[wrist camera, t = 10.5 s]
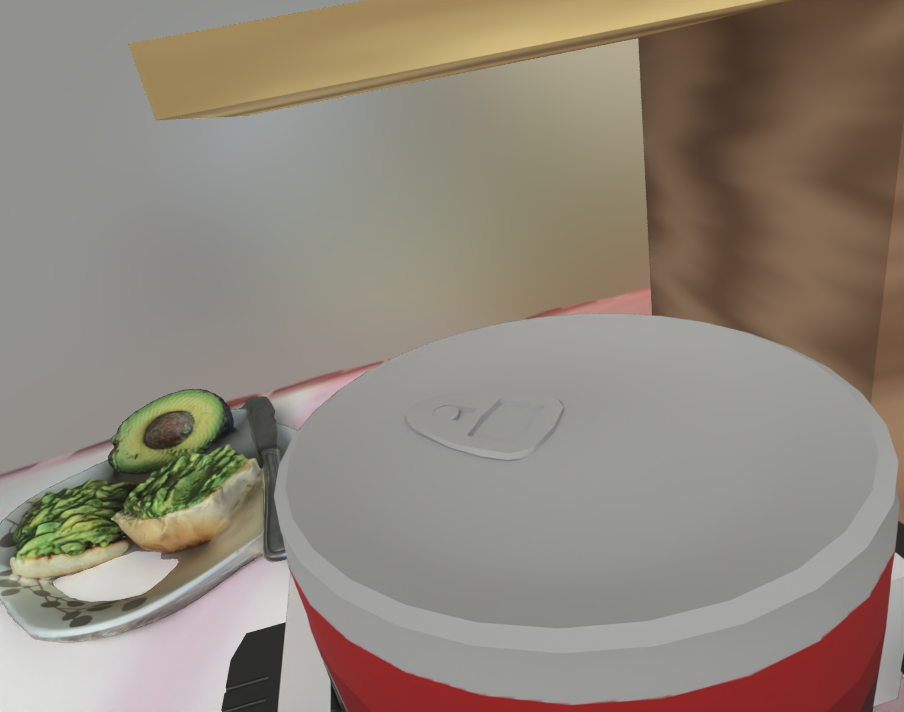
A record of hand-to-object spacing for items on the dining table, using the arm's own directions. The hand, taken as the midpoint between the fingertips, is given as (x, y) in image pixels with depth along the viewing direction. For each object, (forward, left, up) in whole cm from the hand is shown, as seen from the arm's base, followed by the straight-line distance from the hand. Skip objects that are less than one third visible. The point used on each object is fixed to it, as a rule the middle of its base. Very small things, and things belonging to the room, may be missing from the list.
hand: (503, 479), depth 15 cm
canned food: (+4, -2, -7) cm, 8 cm away
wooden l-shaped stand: (-3, +6, -10) cm, 12 cm away
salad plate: (-24, -4, -10) cm, 27 cm away
